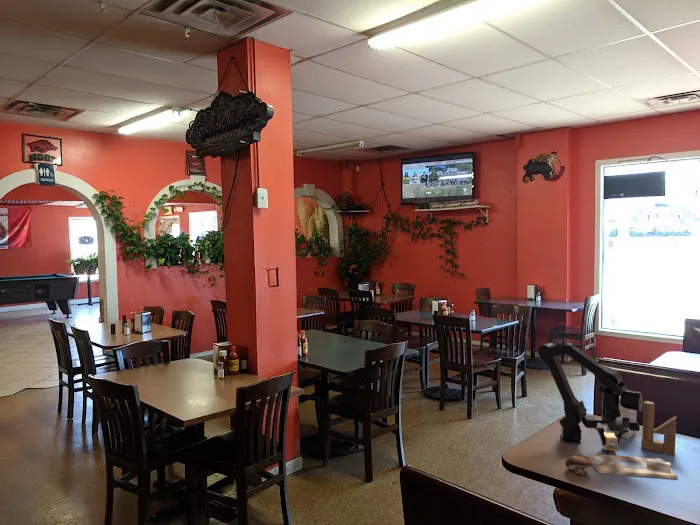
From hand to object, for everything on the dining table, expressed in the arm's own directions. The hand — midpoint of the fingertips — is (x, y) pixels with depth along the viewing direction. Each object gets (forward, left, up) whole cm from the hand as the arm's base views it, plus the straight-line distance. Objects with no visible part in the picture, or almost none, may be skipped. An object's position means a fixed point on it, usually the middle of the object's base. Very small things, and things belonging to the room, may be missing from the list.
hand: (609, 445), depth 194 cm
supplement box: (+10, +19, -2) cm, 22 cm away
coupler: (0, 0, -1) cm, 1 cm away
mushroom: (-16, -20, -2) cm, 26 cm away
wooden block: (+18, +3, -2) cm, 18 cm away
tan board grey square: (+3, -13, -2) cm, 14 cm away
